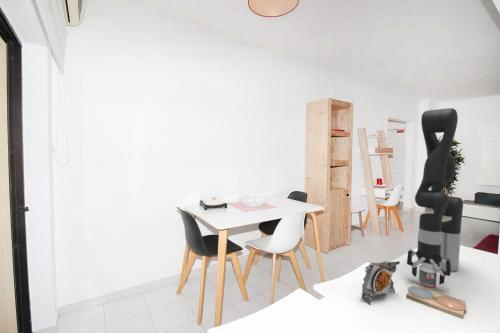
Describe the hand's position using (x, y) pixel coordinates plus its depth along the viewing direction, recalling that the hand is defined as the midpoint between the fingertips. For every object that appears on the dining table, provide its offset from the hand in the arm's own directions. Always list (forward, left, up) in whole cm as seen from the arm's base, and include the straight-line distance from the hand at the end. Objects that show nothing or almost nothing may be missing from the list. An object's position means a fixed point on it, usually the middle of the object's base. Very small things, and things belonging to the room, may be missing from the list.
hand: (427, 279), depth 99 cm
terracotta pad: (+10, +8, -1) cm, 13 cm away
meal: (+21, -11, -3) cm, 24 cm away
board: (+10, +4, -3) cm, 11 cm away
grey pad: (+10, 0, -1) cm, 10 cm away
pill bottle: (0, 0, -3) cm, 3 cm away
